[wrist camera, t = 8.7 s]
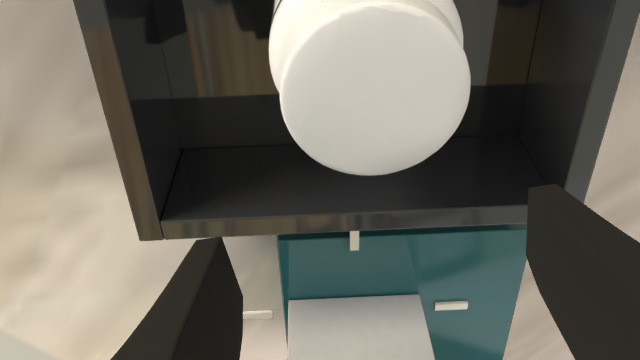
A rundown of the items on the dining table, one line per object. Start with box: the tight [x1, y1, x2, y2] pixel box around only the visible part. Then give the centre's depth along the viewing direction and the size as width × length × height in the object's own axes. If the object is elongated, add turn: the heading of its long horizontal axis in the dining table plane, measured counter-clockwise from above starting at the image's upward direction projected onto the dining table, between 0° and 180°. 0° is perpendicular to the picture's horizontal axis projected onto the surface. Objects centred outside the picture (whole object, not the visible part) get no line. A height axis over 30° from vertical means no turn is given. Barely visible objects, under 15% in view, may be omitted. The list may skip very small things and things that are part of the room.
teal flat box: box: [243, 223, 527, 360], centre depth 25 cm, size 12×10×3 cm
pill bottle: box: [269, 0, 471, 176], centre depth 15 cm, size 5×5×8 cm
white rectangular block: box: [287, 294, 435, 360], centre depth 22 cm, size 6×2×4 cm, turn 92°
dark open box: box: [73, 0, 640, 241], centre depth 17 cm, size 15×14×5 cm
